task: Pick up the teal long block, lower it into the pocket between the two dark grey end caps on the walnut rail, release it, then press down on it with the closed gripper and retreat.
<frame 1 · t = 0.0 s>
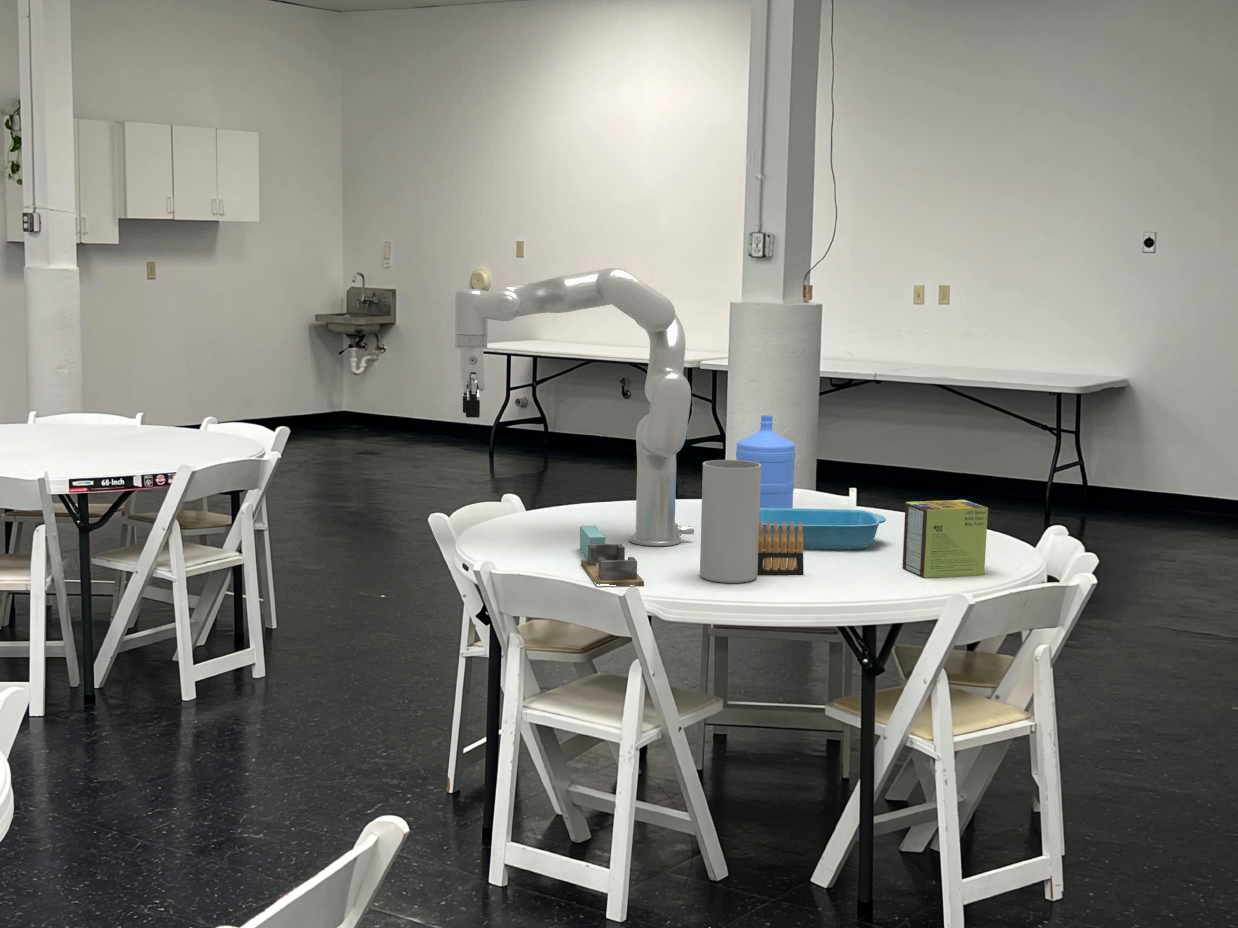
hand: (471, 415, 330), 31 cm above the table, tool pointing down, fingers open, 9 cm apart
cylinder vase: (728, 578, 305), on the table
protein box: (942, 572, 315), on the table
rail: (611, 574, 305), on the table
teal long block: (592, 556, 324), on the table
water jug: (763, 520, 374), on the table
casserole dish: (808, 544, 345), on the table
ammunition clip: (778, 575, 309), on the table
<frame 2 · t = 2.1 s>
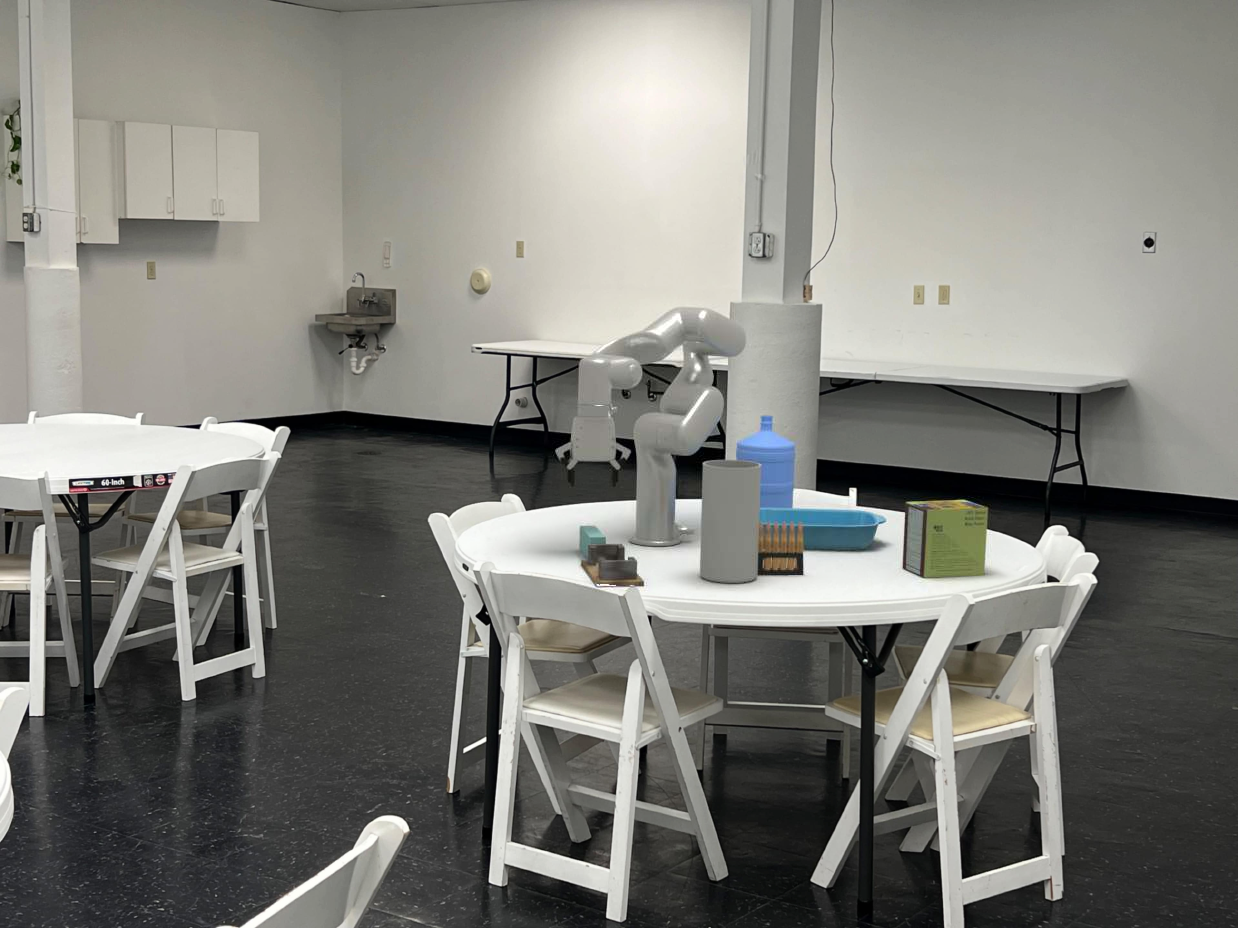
hand: (592, 485, 322), 16 cm above the table, tool pointing down, fingers open, 9 cm apart
nothing on the table moved.
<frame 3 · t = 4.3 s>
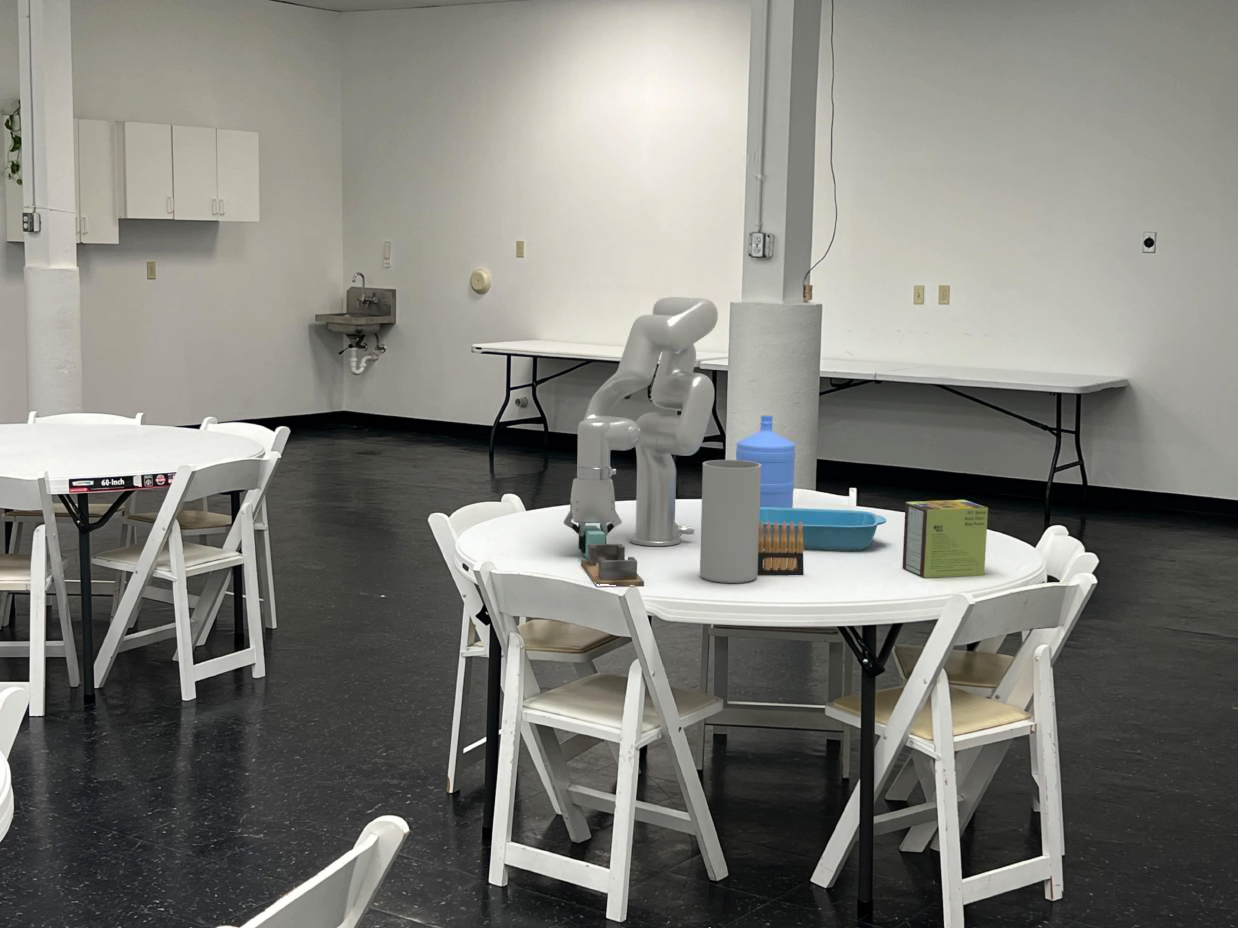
hand: (592, 551, 324), 1 cm above the table, tool pointing down, fingers closed on teal long block, 3 cm apart
teal long block: (592, 555, 324), on the table, touching gripper
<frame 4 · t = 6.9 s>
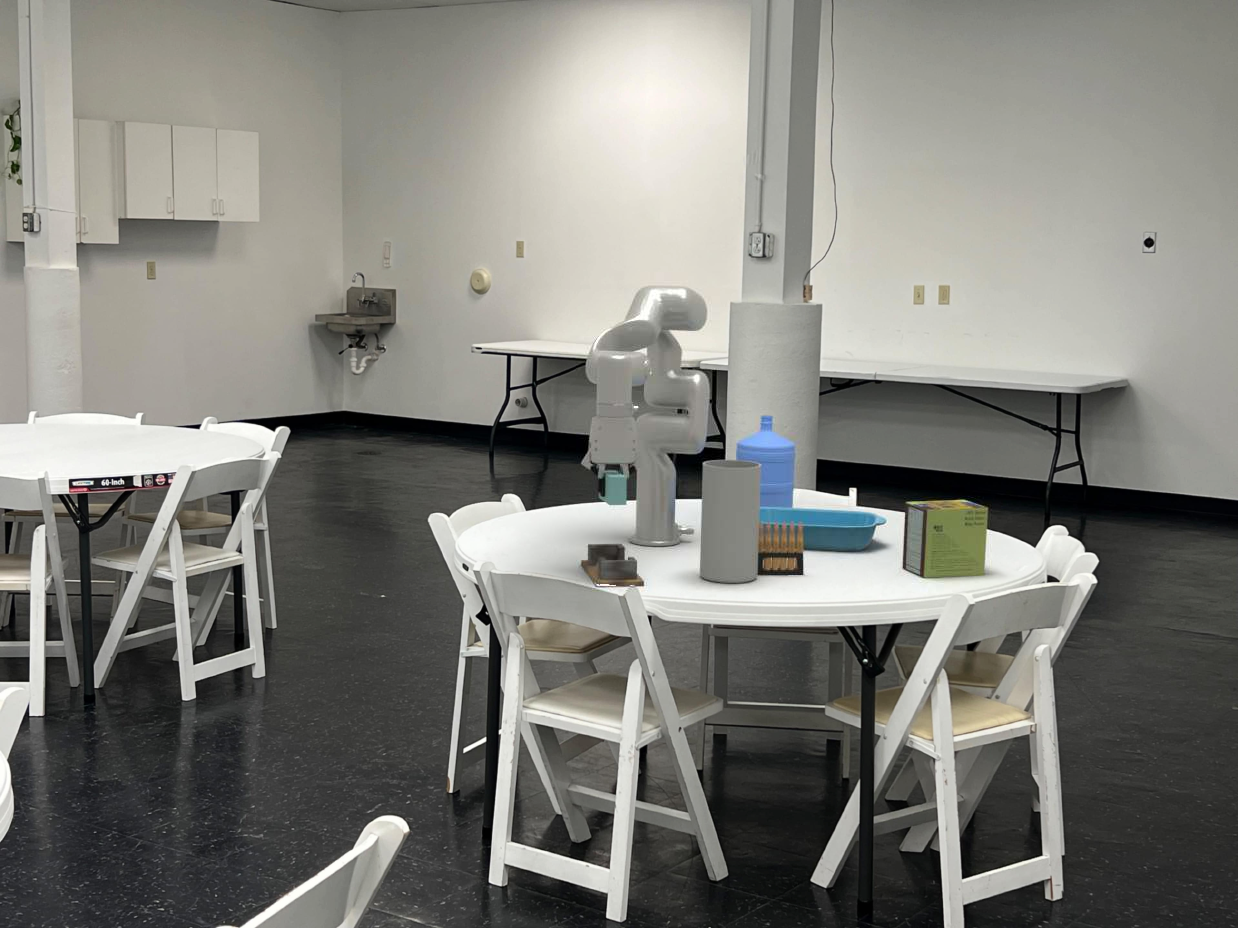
hand: (612, 495, 303), 18 cm above the table, tool pointing down, fingers closed on teal long block, 3 cm apart
teal long block: (612, 501, 302), point 16 cm above the table, touching gripper
when the fingers open (4 cm above the table, at t = 9.8 s): teal long block drops 1 cm, resting on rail.
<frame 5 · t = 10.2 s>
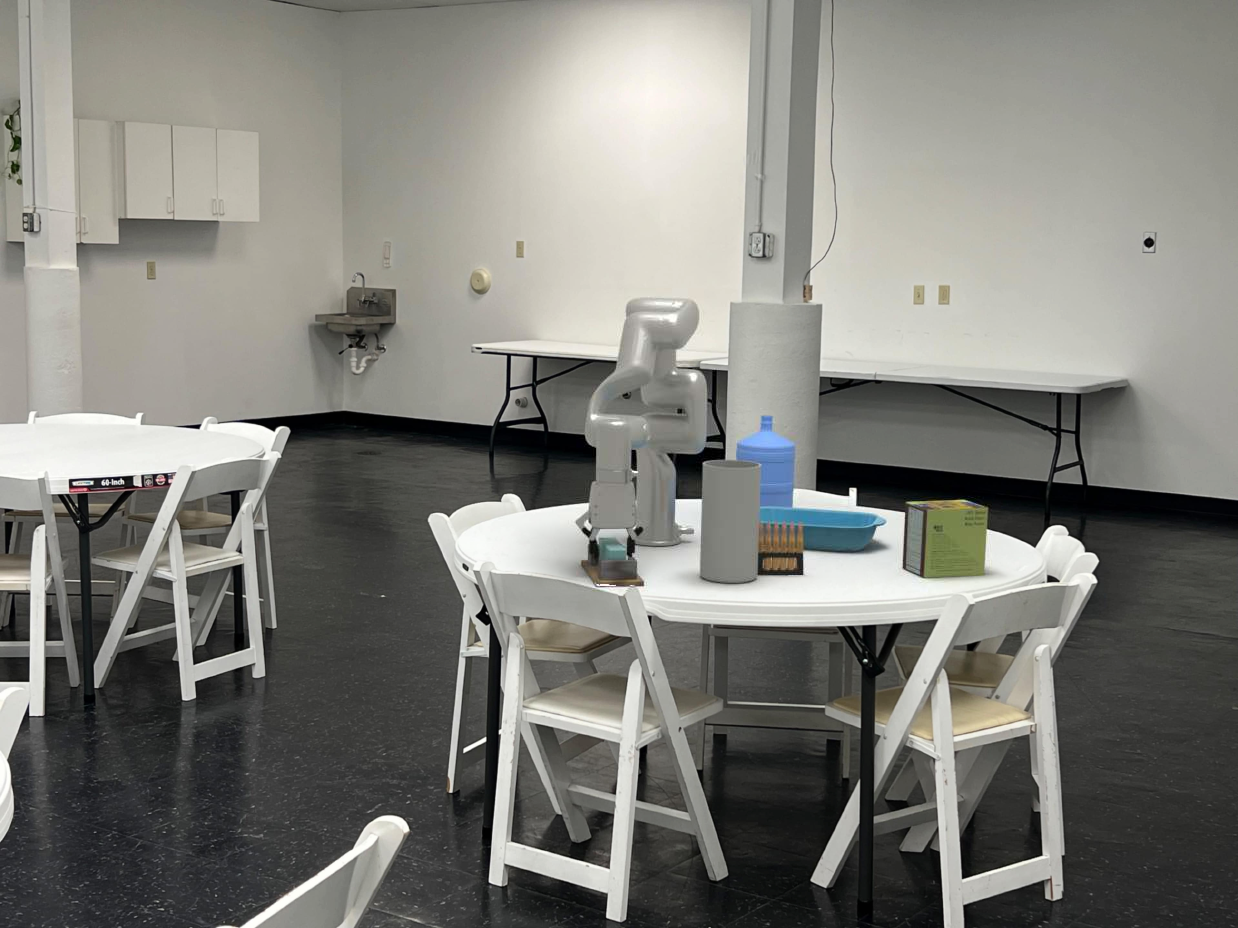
hand: (611, 556, 304), 4 cm above the table, tool pointing down, fingers open, 7 cm apart
teal long block: (611, 570, 304), point 1 cm above the table, touching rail
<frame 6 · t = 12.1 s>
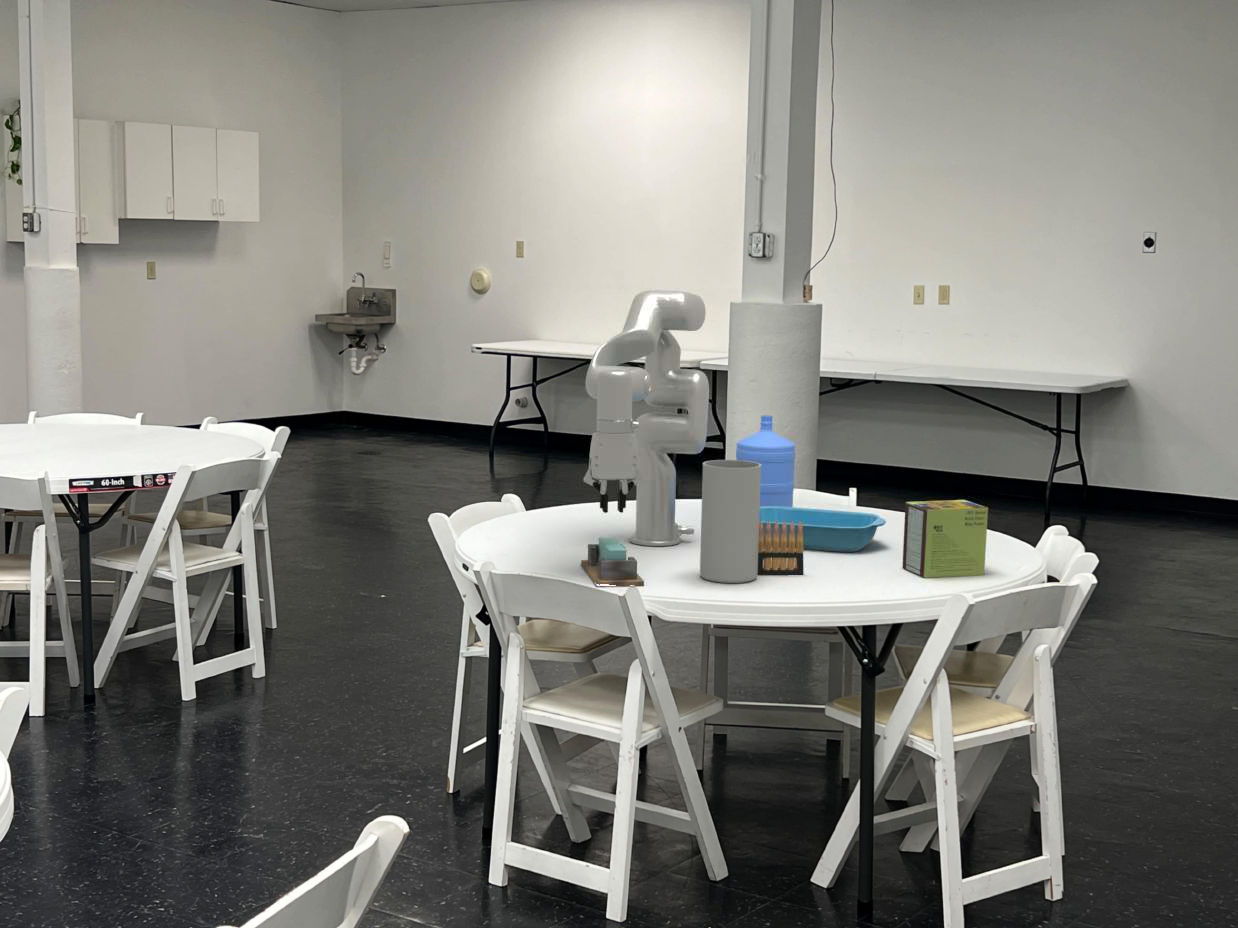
hand: (612, 510, 303), 14 cm above the table, tool pointing down, fingers closed
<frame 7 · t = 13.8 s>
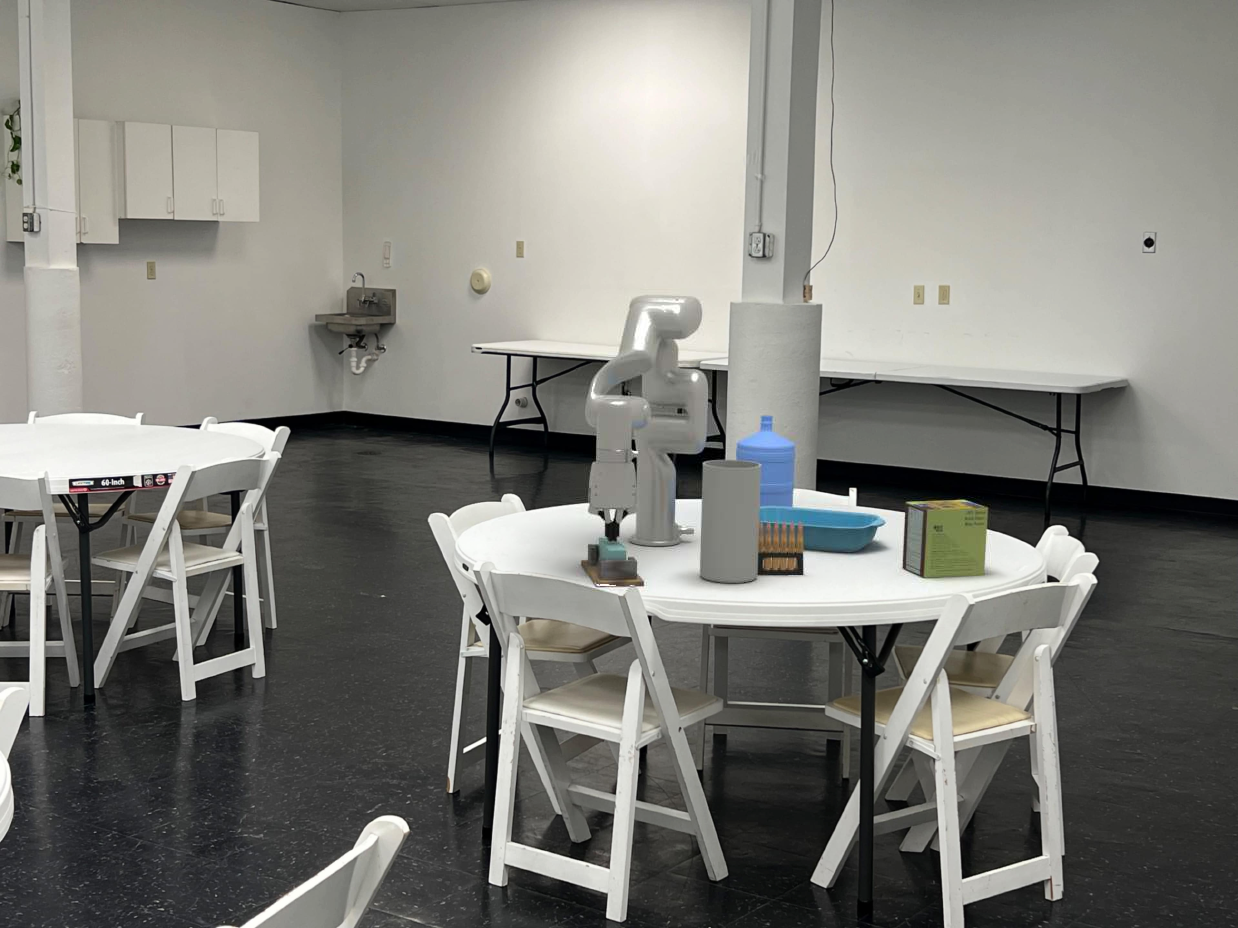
hand: (611, 540, 304), 8 cm above the table, tool pointing down, fingers closed
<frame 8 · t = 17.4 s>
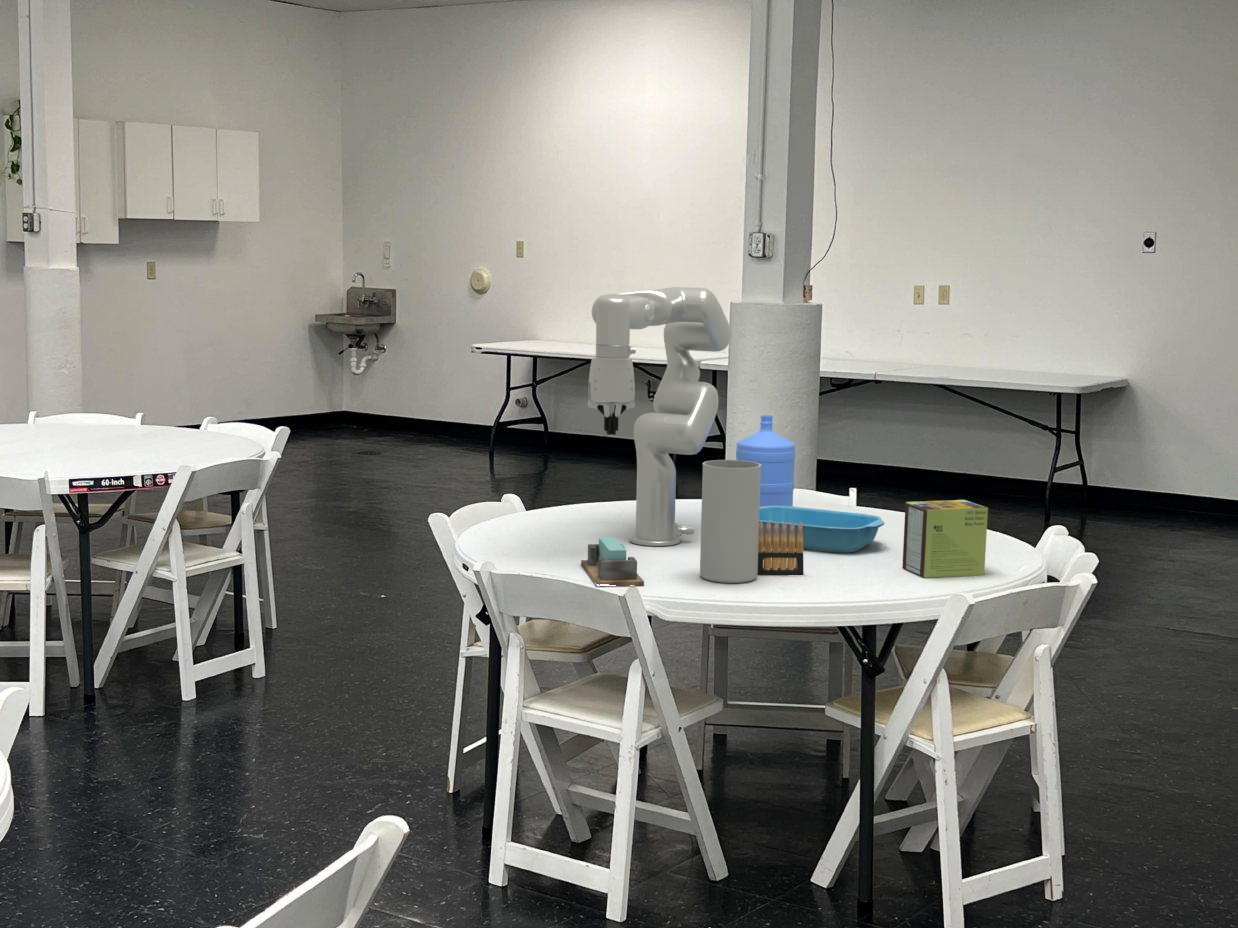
hand: (610, 433, 316), 29 cm above the table, tool pointing down, fingers closed
at the end: teal long block 0.4 cm off-centre on the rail, point 1.0 cm above the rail's base; teal long block tilted 0°; the gripper is holding nothing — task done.
